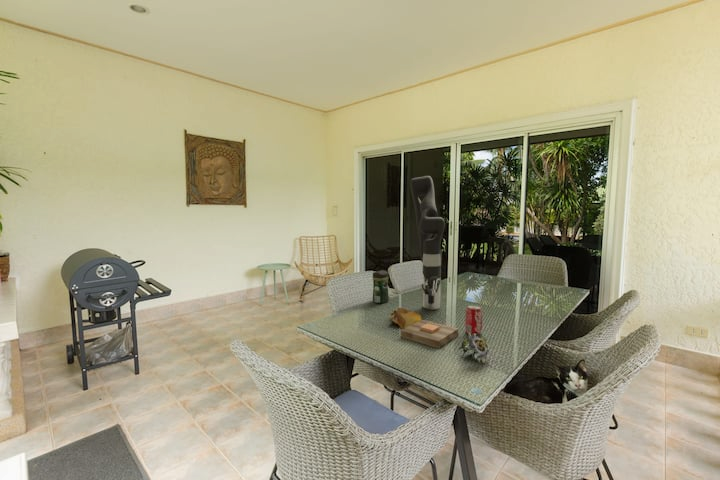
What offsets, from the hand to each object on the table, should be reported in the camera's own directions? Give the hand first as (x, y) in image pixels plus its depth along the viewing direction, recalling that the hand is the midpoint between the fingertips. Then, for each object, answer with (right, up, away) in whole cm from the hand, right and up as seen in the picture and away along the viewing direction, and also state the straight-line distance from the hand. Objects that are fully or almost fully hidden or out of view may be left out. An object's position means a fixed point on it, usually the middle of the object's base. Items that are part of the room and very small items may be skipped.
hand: (431, 303), depth 147 cm
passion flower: (+11, -17, -20) cm, 29 cm away
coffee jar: (-19, -9, +55) cm, 59 cm away
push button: (0, -14, +1) cm, 14 cm away
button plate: (0, -15, +1) cm, 15 cm away
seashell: (-9, -13, +18) cm, 25 cm away
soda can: (+20, -14, +5) cm, 25 cm away
